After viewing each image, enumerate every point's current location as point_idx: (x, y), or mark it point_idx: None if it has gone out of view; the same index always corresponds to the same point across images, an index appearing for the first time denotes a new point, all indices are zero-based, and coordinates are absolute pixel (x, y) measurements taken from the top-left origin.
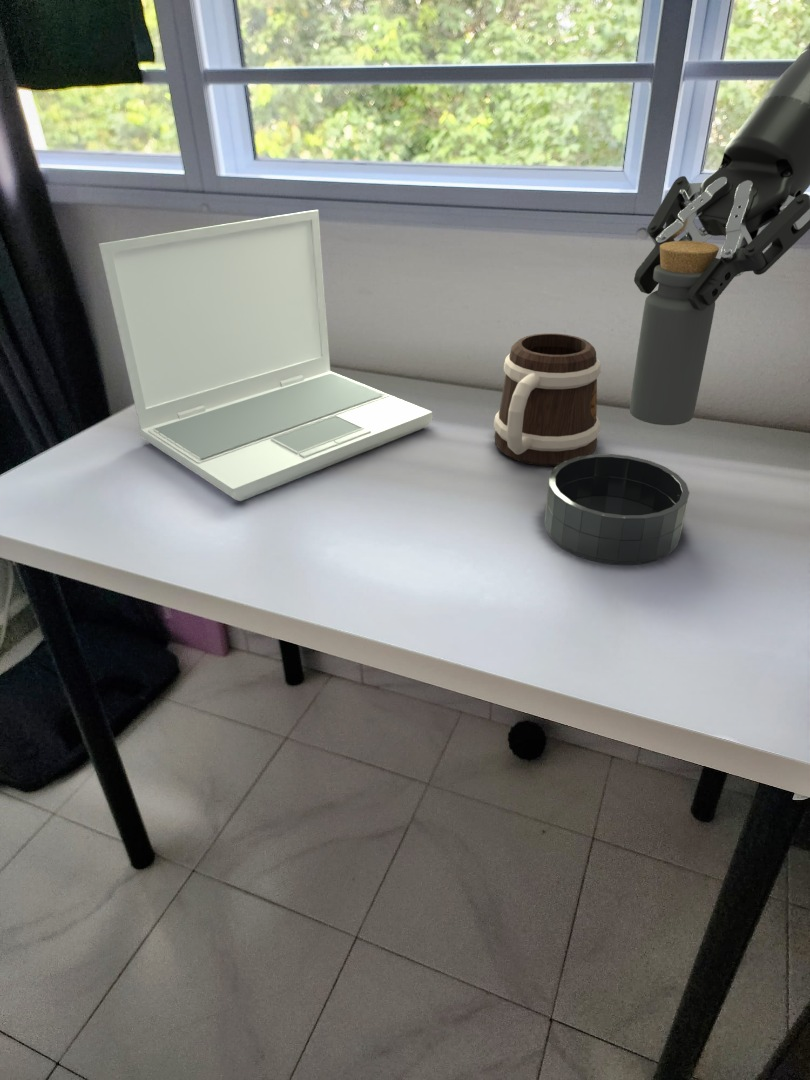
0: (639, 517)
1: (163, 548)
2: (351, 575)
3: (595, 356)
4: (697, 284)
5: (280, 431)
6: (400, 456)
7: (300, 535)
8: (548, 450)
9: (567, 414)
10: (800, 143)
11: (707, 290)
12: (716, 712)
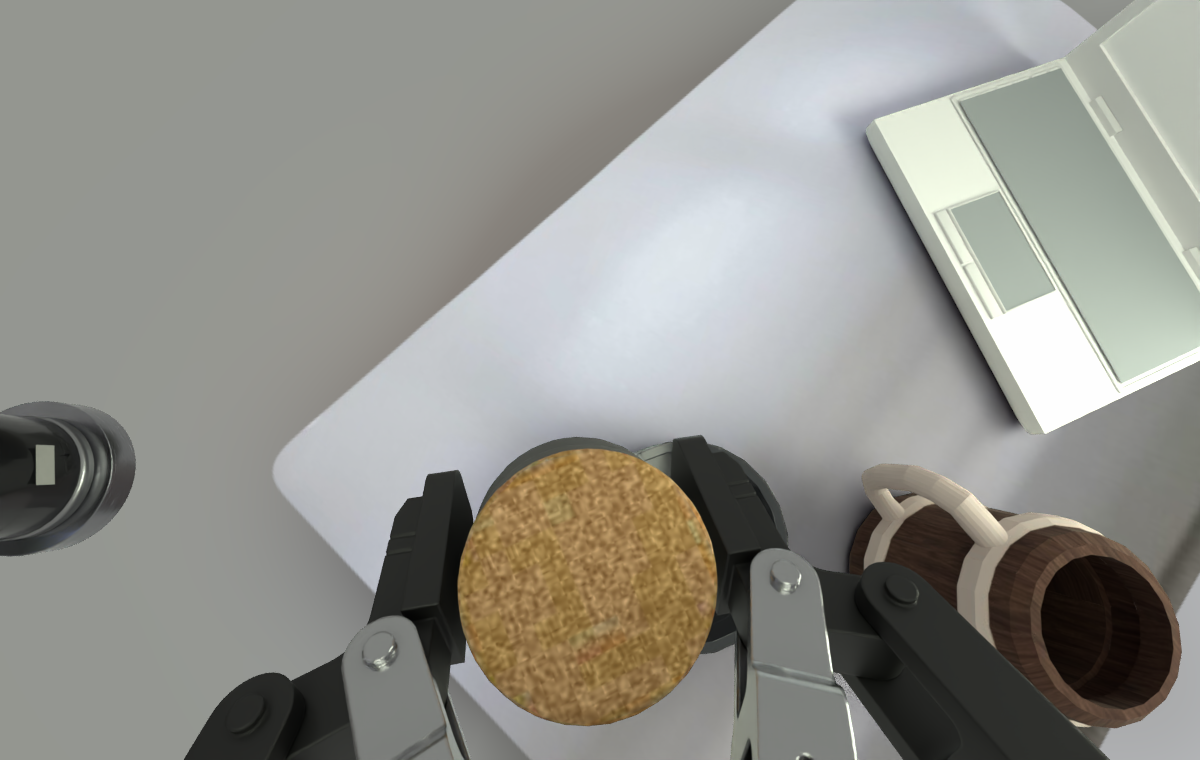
0: None
1: (795, 58)
2: (683, 208)
3: None
4: (438, 500)
5: (1020, 207)
6: (938, 356)
7: (777, 184)
8: (868, 543)
9: None
10: None
11: (402, 516)
12: (342, 436)
